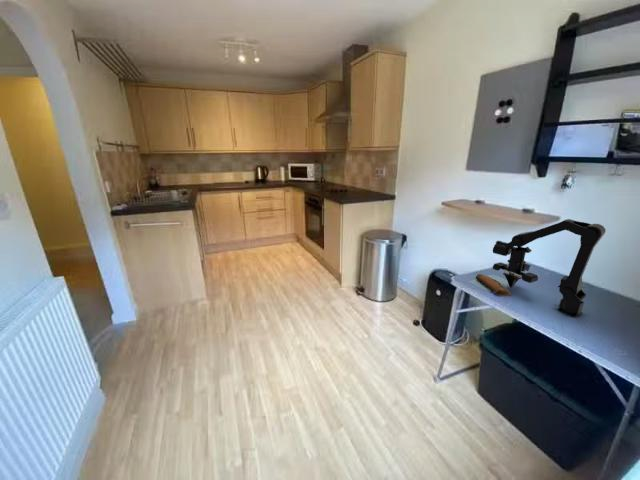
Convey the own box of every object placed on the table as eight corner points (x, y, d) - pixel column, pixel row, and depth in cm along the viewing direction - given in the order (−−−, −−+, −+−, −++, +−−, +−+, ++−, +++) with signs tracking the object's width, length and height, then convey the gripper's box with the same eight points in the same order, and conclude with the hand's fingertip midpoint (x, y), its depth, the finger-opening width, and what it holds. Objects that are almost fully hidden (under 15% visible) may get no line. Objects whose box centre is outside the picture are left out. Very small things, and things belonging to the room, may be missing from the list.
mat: (515, 284, 145) (515, 283, 144) (489, 292, 137) (489, 292, 137) (492, 275, 156) (492, 274, 156) (467, 282, 149) (467, 281, 149)
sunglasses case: (513, 294, 133) (509, 284, 131) (500, 301, 134) (495, 291, 132) (489, 278, 150) (485, 268, 148) (478, 284, 151) (473, 275, 149)
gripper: (548, 262, 127) (541, 292, 132) (508, 250, 143) (503, 277, 148) (533, 266, 123) (526, 297, 128) (494, 253, 139) (489, 281, 144)
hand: (511, 287), depth 137 cm, fingers closed
